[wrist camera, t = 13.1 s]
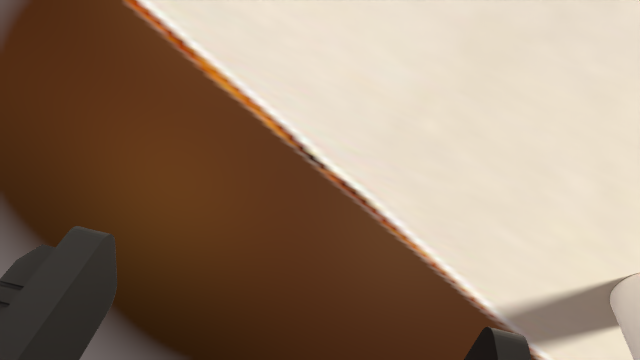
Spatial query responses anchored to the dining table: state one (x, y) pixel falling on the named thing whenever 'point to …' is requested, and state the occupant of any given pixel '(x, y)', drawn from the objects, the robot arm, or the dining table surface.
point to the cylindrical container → (628, 311)
